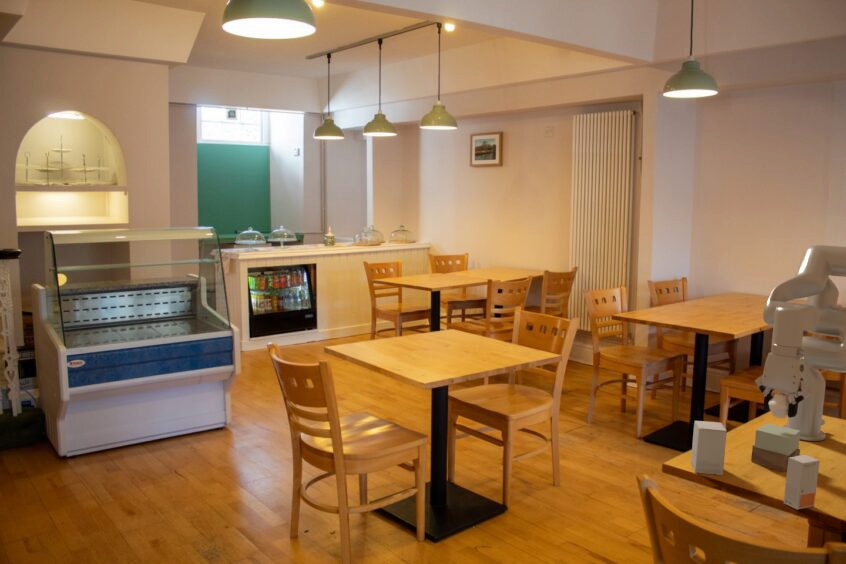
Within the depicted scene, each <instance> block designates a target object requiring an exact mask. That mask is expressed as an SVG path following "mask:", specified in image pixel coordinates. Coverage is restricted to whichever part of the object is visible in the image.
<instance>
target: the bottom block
mask: <svg viewBox="0 0 846 564" xmlns="http://www.w3.org/2000/svg"><path fill="white" fill-rule="evenodd" d="M751 448H752V451H751V459H750V462H751V461H752V463H754V464H758V465H761V466H764V467H766V468H769V469H771V470H772V469H773V470H775V471H778V472H781V473H783V471H784V472H787V468H788V459H789V458H790V457H795V456H801V449H800V448H798V449H796V450H795V451H794V452H793V453H791V454H790V455H789V456H788V455H784V454H780V453H776V452H772V451H768V450H765V449H761V448H757V447H755V444H753V445H752V447H751Z"/></svg>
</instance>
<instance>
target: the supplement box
mask: <svg viewBox="0 0 846 564" xmlns="http://www.w3.org/2000/svg"><path fill="white" fill-rule="evenodd" d="M726 443H727V429H726V428H725V426H724V425H723V423H722V422H718V421H717V422H716V421H705V420H704V421H702V420H694V423H693V435H692V444H691V445H692V447H691V459H690V464H691V467H692V468H693V470H694V473H699V474H705V475H707V474H708V475H714V474H716V475H717V476H723V475H724V466H725V453H726ZM716 475H715V476H716Z"/></svg>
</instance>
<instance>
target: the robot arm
mask: <svg viewBox="0 0 846 564" xmlns="http://www.w3.org/2000/svg"><path fill="white" fill-rule="evenodd" d="M830 276H831V277H833V276H834V277H843V278H846V246H837V245H825V244H824V245H822V244H821V245H820V244H819V245H812V246H810V247H808V248H807V249H806V250H805V251H804V252H803V254H802V259H800V263H799V265H798V267H797V271H796V273H795V275H794V276H793V277H790V278H788V279H787V280H785V281H783V282H781V283H779V284H777V285H776V286H775V287H774V288H773V289H772V290H771V292H770V293H769V296H768V298H767V300H766V301H765V304H764V308H763V310H762V311H763V312H762V319H763V321H764V323H765V324H766V325H768V326H770V327H772V328H773V329H772V335H771V336H772V337H771V346H770V352H768V354H767V357H766V360H765V363H764V368H763V374H761V375H760V376H758V377H757V378H756V379H754V383H755V384H756V386H757V387H758V389H759V391H760V392H761V393H762V396H763V411H765V412H768V411H771V410H770V408H769V404H768V402H769V401H770V400H771V399H772V398H773V397H774V396H773V395H772V394H773V393H774V391H778V392H782V393H785V394H786V393H787V394H788V397H789V400H790V402H791V403H789V408H788V415H787V424H784V425H781V426H782V427H786V428H791V429H795V430H799V431H800V439H799V440H800V441H801V440H802V441H809V442H819V441H824V440H825V439H826V437H827V436H826V433H825V432H824V431H822V426H824V425H825V424H826V421H825V420H824V419H823V411H824V403H825V396H826V395H825V393H826V392H825V391H826V380H825V377H824V376H823V374H822V373H821V371H820V370H825V371H831V372H837V373H846V307H845V306H837V305H838V300H839V294H840V292H839V289H838V287H837V285H836V284H835V283H834V282H833V280H832V279H831V278H830ZM804 298H806V302H805V303H798V302H790V301H793V300H799V299H804ZM804 332H806V333H809V334H815V335H821V336H825V337H835V338H839V339H840V340H837V339H829V338H825V337H824V338H823V337H816V336H807V335H804Z"/></svg>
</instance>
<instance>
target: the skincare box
mask: <svg viewBox="0 0 846 564" xmlns="http://www.w3.org/2000/svg"><path fill="white" fill-rule="evenodd" d="M820 461H821V460H819V459H817V458H814V457H812V456H809V455H808V454H804V455H803V454H802V455H799V456H795V457H790V458H789V459H788V468H787V470H786V479H785V487H784V495H783V504H784V505H787V506H789V507H790V508H793V509H795V510H797V511H798V510H803V509H807V508H813V507H815V502H816V494H817V487H818V476H819V469H820Z"/></svg>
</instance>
